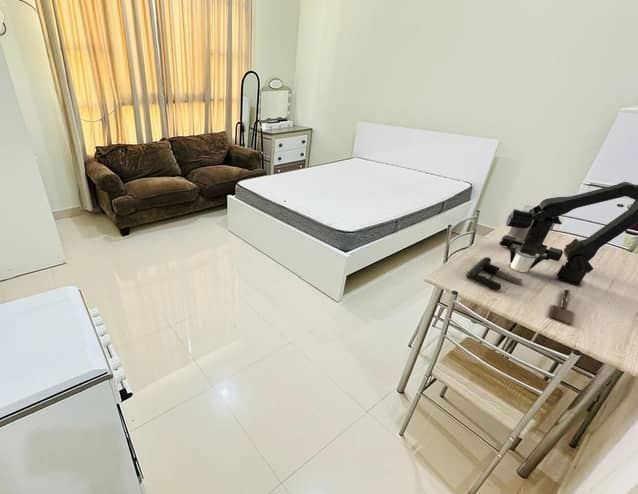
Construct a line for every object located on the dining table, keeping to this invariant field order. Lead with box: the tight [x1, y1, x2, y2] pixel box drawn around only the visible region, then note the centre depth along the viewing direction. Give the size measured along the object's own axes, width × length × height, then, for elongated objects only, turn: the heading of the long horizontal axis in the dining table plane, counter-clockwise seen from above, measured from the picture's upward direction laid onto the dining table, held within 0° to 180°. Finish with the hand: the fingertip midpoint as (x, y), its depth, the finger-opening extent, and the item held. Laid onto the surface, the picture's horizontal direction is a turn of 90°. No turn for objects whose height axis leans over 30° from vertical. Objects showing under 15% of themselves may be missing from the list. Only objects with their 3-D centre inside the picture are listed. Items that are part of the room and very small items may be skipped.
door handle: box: [464, 256, 523, 291], centre depth 124 cm, size 3×20×16 cm
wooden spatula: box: [549, 289, 574, 326], centre depth 110 cm, size 5×22×2 cm, turn 134°
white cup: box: [510, 250, 538, 273], centre depth 129 cm, size 7×7×7 cm
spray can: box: [503, 204, 540, 251], centre depth 141 cm, size 8×8×20 cm
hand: (520, 265), depth 130 cm, fingers closed on white cup, 6 cm apart
